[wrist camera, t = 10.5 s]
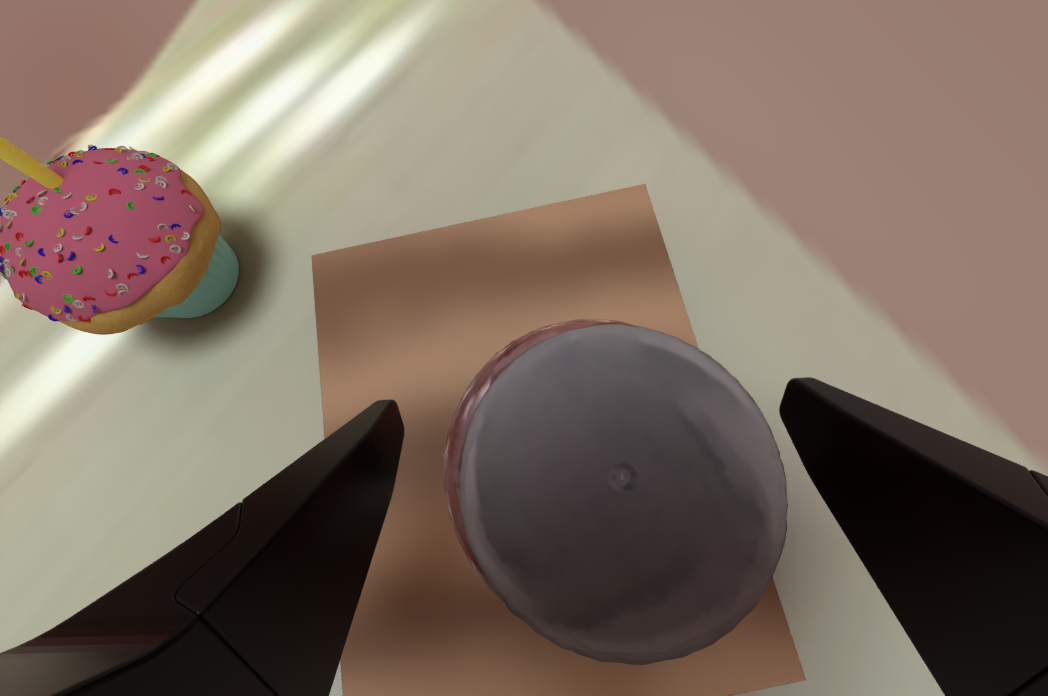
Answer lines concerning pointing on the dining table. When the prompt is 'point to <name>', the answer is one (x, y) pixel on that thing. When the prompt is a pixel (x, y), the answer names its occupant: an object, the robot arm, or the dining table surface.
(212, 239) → the cupcake
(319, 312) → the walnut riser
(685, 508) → the supplement bottle
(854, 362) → the dining table surface
